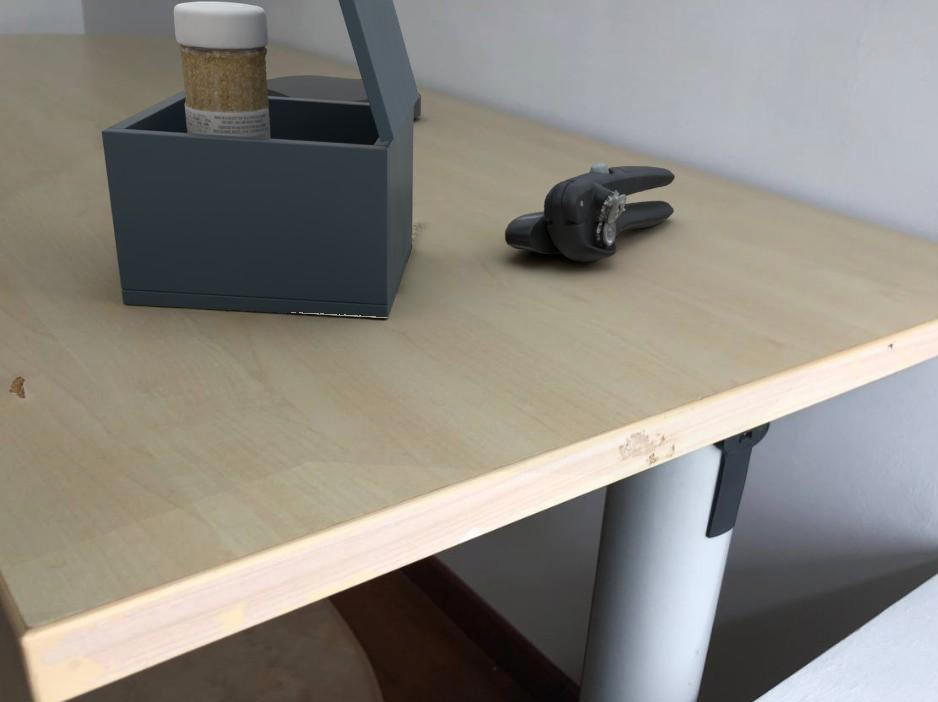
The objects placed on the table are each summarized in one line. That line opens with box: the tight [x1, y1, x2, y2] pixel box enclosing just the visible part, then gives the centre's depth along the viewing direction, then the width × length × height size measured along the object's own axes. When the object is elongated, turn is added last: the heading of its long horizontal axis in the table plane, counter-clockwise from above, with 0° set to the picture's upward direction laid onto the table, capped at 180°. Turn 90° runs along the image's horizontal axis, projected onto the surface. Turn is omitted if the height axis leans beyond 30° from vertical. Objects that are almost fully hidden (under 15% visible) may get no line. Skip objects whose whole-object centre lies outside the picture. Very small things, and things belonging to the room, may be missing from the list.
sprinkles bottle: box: [173, 0, 271, 139], centre depth 53 cm, size 5×5×13 cm
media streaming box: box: [267, 74, 422, 119], centre depth 101 cm, size 15×15×3 cm
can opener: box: [504, 162, 676, 263], centre depth 66 cm, size 18×7×6 cm, turn 147°
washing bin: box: [101, 89, 415, 318], centre depth 55 cm, size 14×13×9 cm
